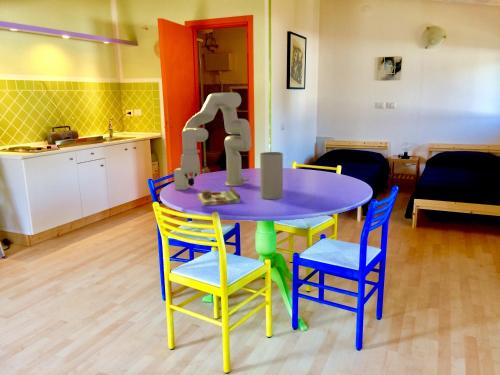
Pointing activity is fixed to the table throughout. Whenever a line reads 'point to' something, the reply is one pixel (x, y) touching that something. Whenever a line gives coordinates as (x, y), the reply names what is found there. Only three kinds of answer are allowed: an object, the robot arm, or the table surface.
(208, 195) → the walnut block
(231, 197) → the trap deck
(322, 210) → the table surface
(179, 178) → the supplement box
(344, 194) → the table surface
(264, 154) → the cylinder vase
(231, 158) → the robot arm
